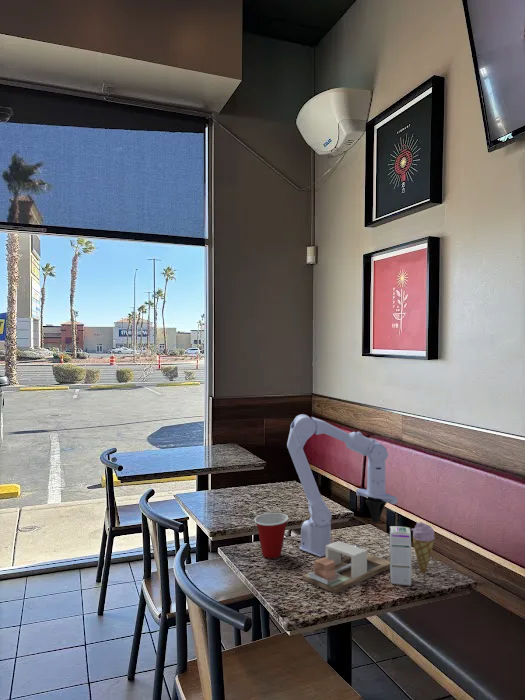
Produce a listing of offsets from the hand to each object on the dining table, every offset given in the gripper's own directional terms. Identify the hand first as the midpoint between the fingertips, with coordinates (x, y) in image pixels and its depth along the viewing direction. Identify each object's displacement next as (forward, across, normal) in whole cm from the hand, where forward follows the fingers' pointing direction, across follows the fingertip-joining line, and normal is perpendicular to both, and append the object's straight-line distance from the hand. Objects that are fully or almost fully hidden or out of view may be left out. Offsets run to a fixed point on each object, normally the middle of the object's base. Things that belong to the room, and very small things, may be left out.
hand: (375, 521), depth 174 cm
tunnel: (+8, -5, +22) cm, 24 cm away
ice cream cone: (+10, -19, +4) cm, 22 cm away
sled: (+8, -5, +25) cm, 27 cm away
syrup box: (+10, -18, +14) cm, 25 cm away
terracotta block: (+7, -5, +32) cm, 33 cm away
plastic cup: (+10, +20, +28) cm, 36 cm away
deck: (+9, -5, +20) cm, 23 cm away
